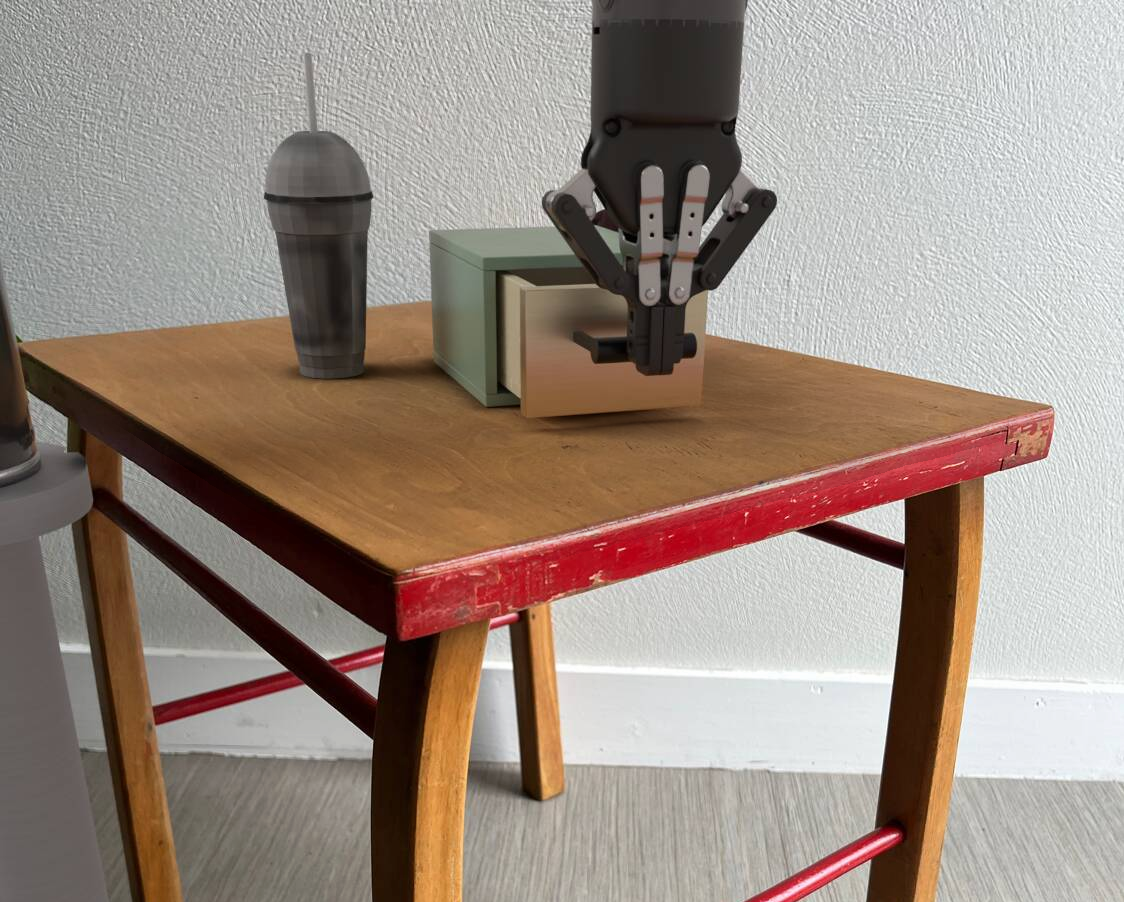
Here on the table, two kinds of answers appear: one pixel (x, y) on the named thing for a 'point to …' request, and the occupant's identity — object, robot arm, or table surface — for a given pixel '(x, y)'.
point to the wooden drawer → (584, 347)
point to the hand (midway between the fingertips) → (653, 372)
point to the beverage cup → (322, 243)
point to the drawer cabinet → (485, 295)
